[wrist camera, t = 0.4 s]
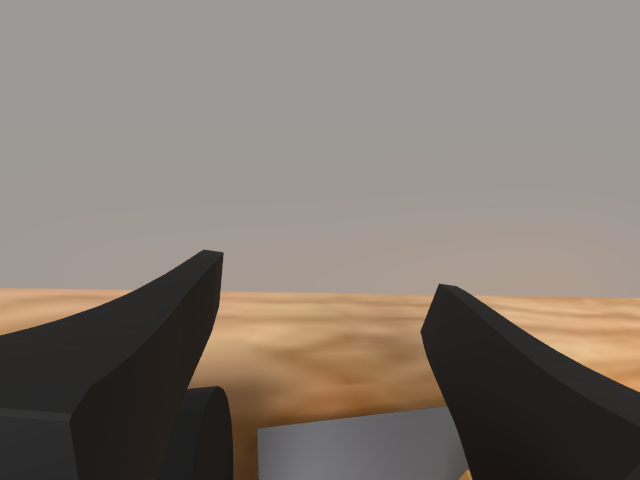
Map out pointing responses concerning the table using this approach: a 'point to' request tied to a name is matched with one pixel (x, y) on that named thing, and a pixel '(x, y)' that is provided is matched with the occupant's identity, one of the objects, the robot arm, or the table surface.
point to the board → (365, 448)
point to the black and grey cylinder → (200, 438)
